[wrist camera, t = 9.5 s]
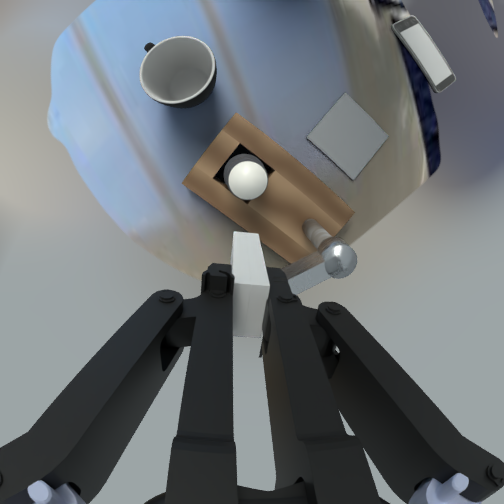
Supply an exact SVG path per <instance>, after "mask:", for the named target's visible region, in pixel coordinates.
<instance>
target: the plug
mask: <svg viewBox="0 0 504 504" xmlns="http://www.w3.org/2000/svg"><path fill="white" fill-rule="evenodd" d="M224 180H225V183H226V185H227V186H228V188H229V190H230V191H231V193H232V194H233V195H234V196H236V197H237V198H239V199H242V200H253V199H256V198H258V197H259V196H261V195H262V194H263V193H264V191H265V190H266V188H267V185H268V174H267V171H266V169H265V168H264V165H263V164H262V162H261V161H260V160H259V159H258V158H257V157H255V156H253V155H250V154H239V155H236V156H234V157H233V158H231V159H230V160H229V161H228V163H227V164H226V166H225V169H224Z"/></svg>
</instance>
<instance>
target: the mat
mask: <svg viewBox="0 0 504 504" xmlns="http://www.w3.org/2000/svg"><path fill="white" fill-rule="evenodd" d="M388 137H389V136H388V135H387V134H386V133H385V132H384V131H383V130H382V128H381V127H380V126H379V125H378V124H377V123H376V122H375V121H374V120H373V119H372V118H371V117H370V116H369V115H368V114H367V113H366V112H365V111H364V110H363V109H362V108H361V107H360V106H359V105H358V104H357V103H356V102H355V101H354V100H353V99H352V98H351V97H350V96H349V95H348V94H347V93H346V92H345V93H344V94H343V95H342V96H341V97H340V99H339V100H338V101H337V102H336V103H335V104H334V105H333V107H332V108H331V109H330V110H329V111H328V112H327V114H326V115H325V116H324V117H323V118H322V119H321V120H320V122H319V123H318V124H317V125H316V126H315V127H314V129H313V130H312V131H311V132H310V133H309V135H308V136H307V137H306V138H307V139H308V140H310V141H311V142H312V143H313V144H314V145H315V146H316V147H318V148H319V149H320V150H321V151H322V152H323V153H324V154H325V155H326V156H328V157H329V158H330V159H331V160H332V161H333V162H334V163H335V164H336V165H337V166H338V167H339V168H340V169H342V170H343V171H344V172H345V173H346V174H347V175H348V176H349V177H350V178H351V179H352V180H354V179H355V178H356V176H357V175H358V174H359V173H360V172H361V170H362V169H363V168H364V167H365V165H366V164H367V163H368V162H369V160H370V159H371V158H372V157H373V155H374V154H375V153H376V152H377V150H378V149H379V148H380V147H381V145H382V144H383V143H384V142H385V140H386V139H387V138H388Z"/></svg>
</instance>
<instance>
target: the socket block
mask: <svg viewBox="0 0 504 504" xmlns="http://www.w3.org/2000/svg"><path fill="white" fill-rule="evenodd" d="M239 144H241V145H242V146H244V147H245V148H246V149H248V150H249V151H250V152H251V153H253V154H254V155H255V156H257V157H258V158H259V159H260V160H262V161H263V162H264V163H266V164H267V165H268V166H269V167H271V170H270V171H269V172H268V173H267V174H268V185H267V188H266V190H265V191H264V193H263V194H262V195H261V196H259V197H258V198H256V199H253V200H242V199H239V198H237V197H236V196H234V195H233V194H232V193H231V191H230V190H229V188H228V186H227V185H226V184H225V183H224V182H223V181H221V180H220V179H219V178H217V177H216V176H214V175H215V174H216V173H217V172H218V170H219V169H220V168H221V166H222V165H223V164H224V163H225V161H226V160H227V159H228V157H229V156H230V155H231V154H232V152H233V151H234V150H235V149H236V147H237V146H238V145H239ZM182 184H183V185H185V186H186V187H187V188H189V189H190V190H192V191H193V192H194V193H196V194H197V195H198V196H200V197H201V198H203V199H204V200H205V201H207V202H208V203H209V204H211V205H212V206H214V207H215V208H216V209H218V210H219V211H220V212H222V213H223V214H225V215H226V216H227V217H229V218H230V219H231V220H233V221H234V222H236V223H237V224H238V225H240V226H241V227H242V228H244V229H245V230H246V231H248V232H249V233H256V234H259V239H260V241H261V242H263V243H264V244H265V245H267V246H268V247H269V248H271V249H272V250H273V251H275V252H276V253H278V254H279V255H280V256H282V257H283V258H284V259H286V260H287V261H288V262H290V263H291V264H292V263H294V262H296V261H298V260H300V259H302V258H304V257H306V256H308V255H310V254H311V253H313V252H315V251H317V249H318V247H319V245H320V243H321V242H322V241H323V240H325V239H326V238H329V237H335V236H336V234H337V233H338V232H339V231H340V230H341V229H342V227H343V226H344V225H345V224H346V223H347V221H348V220H349V219H350V218H351V217H352V215H353V214H354V213H355V212H354V211H353V210H352V209H351V208H350V207H349V206H348V205H347V204H346V203H345V202H344V201H342V200H341V199H340V198H339V197H338V196H337V195H336V194H335V193H334V192H333V191H332V190H331V189H330V188H328V187H327V186H326V185H325V184H324V183H323V182H322V181H321V180H320V179H318V178H317V177H316V176H315V175H314V174H313V173H312V172H310V171H309V170H308V169H307V168H306V167H305V166H303V165H302V164H301V163H300V162H299V161H298V160H296V159H295V158H294V157H293V156H292V155H290V154H289V153H288V152H287V151H286V150H284V149H283V148H282V147H281V146H279V145H278V144H277V143H276V142H274V141H273V140H272V139H271V138H269V137H268V136H267V135H265V134H264V133H263V132H262V131H260V130H259V129H258V128H256V127H255V126H254V125H252V124H251V123H250V122H248V121H247V120H246V119H244V118H243V117H242V116H240V115H239V114H238V113H235V114H234V116H233V117H232V118H231V119H230V120H229V122H228V123H227V124H226V125H225V127H224V128H223V129H222V130H221V132H220V133H219V134H218V135H217V137H216V138H215V139H214V140H213V142H212V143H211V144H210V146H209V147H208V148H207V149H206V151H205V152H204V153H203V155H202V156H201V157H200V159H199V160H198V161H197V163H196V164H195V165H194V167H193V168H192V169H191V171H190V172H189V174H188V175H187V176H186V178H185V179H184V181H183V182H182Z"/></svg>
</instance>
